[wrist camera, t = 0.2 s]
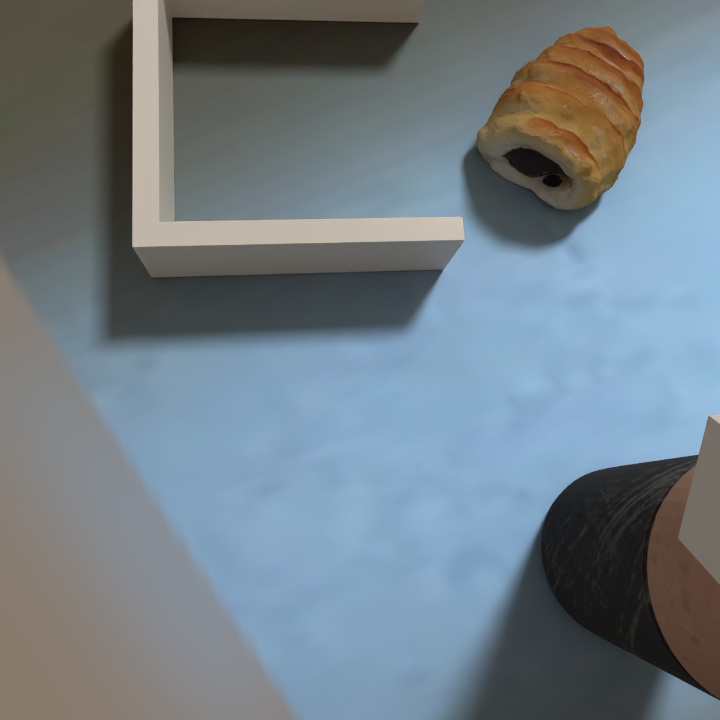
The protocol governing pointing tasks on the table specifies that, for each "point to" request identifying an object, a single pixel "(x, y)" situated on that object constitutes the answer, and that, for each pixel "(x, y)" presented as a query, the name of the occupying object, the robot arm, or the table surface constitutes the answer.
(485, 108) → the table surface
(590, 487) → the travel mug
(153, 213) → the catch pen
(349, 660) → the table surface
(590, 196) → the pastry
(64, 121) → the table surface
